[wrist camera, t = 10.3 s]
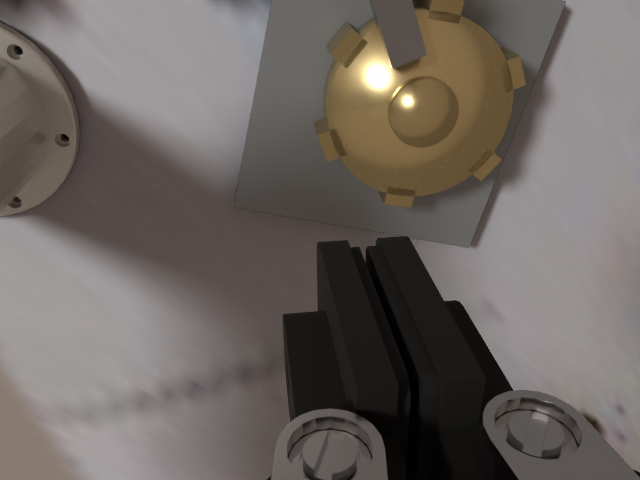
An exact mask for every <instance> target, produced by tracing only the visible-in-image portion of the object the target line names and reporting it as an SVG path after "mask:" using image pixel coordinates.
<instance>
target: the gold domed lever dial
mask: <svg viewBox="0 0 640 480" xmlns="http://www.w3.org/2000/svg"><path fill="white" fill-rule="evenodd" d="M369 2H370V6H371V9H372V12H373V15H374V17H373V18H371V19H370V20H368V21H367V22H365V23H364V24H362V25H361V26H360V27H359V28H358V29H357V30H355V29H353V28H352V27H351V26H350V25H349V24H348V23H347V22H345V23H344V24H343V25H342V27H341V28H340V29H339V30H338V32H337V33H336V34H335V36H334V37H333V38H332V39H331V41H330V42H329V43H328V44H327V46H326V48H327V50H328V51H329V53H330V55H331V56H332V57H333V58H334V60H333V62H332V64H331V66H330V69H329V72H328V74H327V78H326V83H325V87H324V97H323V101H324V114H325V118H324V119H321V120H319V121H316V122H314V126H315V130H316V133H317V136H318V139H319V141H320V144H321V147H322V149H323V152H324V154H325V157H326V159H327V162H330V161H332V160H335V159H337V158H341V160H342V162H343V163H344V165H345V166H346V167H347V168H348V169H349V170H350V172H351V173H352V174H354V175H355V176H356V177H357V178H358V179H359V180H361V181H362V182H364V183H365V184H367V185H368V186H370V187H372V188H374V189H376V190H378V192H379V195H380V197H381V199H382V201H383V203H384V205H393V206H402V207H410V208H411V207H412V203H413V199H414V196H424V195H429V194H434V193H437V192H441V191H444V190H446V189H449V188H451V187H453V186H455V185H457V184H459V183H461V182H462V181H464V180H466V179H467V178H468V177H470V176H471V175H472V174H473V175H474V176H475V177H477V178H478V179H479V180H480V181H482V180H483V179H484V178H485V177H486V176H487V175H488V174H489V173H490V172H491V171H492V170H493V168H494V167H495V166H496V165H497V164H498V163H499V162H500V161H501V160H502V159H501V158H500V157H499V156H498V155H497V154H495V153H494V151H495V150H496V148H497V147H498V145H499V143H500V141H501V139H502V138H503V136H504V134H505V131H506V128H507V126H508V123H509V119H510V115H511V111H512V104H513V90H515V89H517V88H520V87H522V86H525V85H526V83H525V78H524V73H523V68H522V63H521V58H520V55H518V54H516V53H514V52H512V51H510V50H508V49H506V48H504V47H503V48H500V47H499V45H498V44H497V42H496V41H495V40H494V39H493V38H492V37H491V36H490V34H489V33H487V32H486V31H485V30H484V29H483V28H482V27H480V26H479V25H477V24H476V23H474V22H472V21H471V20H469V19H467V18H465V17H462V16H461V13H462V9H463V5H464V0H419V2H418V5H413V2H412V0H369Z"/></svg>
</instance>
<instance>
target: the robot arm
mask: <svg viewBox="0 0 640 480" xmlns="http://www.w3.org/2000/svg"><path fill="white" fill-rule="evenodd" d="M16 46H20V48H21V49H22V51H23V54H21V53H19V52H18V51H17V50H16ZM62 134H65V135H67V136H68V137H69V139H65V138H64V137H63V135H62ZM79 138H80V129H79V119H78V113H77V110H76V106H75V103H74V100H73V96H72V94H71V92H70V90H69V88H68V86H67V84H66V82H65V80H64V78H63V77H62V75H61V74H60V72H59V71H58V70H57V68H56V67H55V66H54V64H53V63H52V62H51V60H50V59H49V58H48V57H47V56H46V55H45V54H44V53H43V52H42V51H41V50H40V49H39V48H38V47H37V46H36V45H35V44H34V43H33V42H31V41H30V40H29V39H27V38H26V37H24V36H23V35H21V34H20V33H19V32H17V31H16V30H14V29H13V28H11V27H9V26H7V25H5V24H3V23H1V22H0V216H8V215H12V214H15V213H19V212H23V211H26V210H28V209H30V208H32V207H34V206H36V205H38V204H40V203H42V202H43V201H44V200H46V199H47V198H48V197H49V196H51V195H52V194H53V193H54V192H55V191H56V190H57V189H58V188H59V186H60V185H61V184H62V183H63V182H64V180H65V179H66V177H67V175H68V174H69V172H70V171H71V169H72V167H73V165H74V162H75V159H76V156H77V153H78V147H79ZM16 197H18V198H19V199H20V200H19V199H17V198H16ZM317 286H318V311H317V312H304V313H292V314H283V335H284V355H285V370H286V382H287V393H288V403H289V412H290V422H289V423H288V424H287V425H286V426H285V428H284V429H283V430H282V431H281V433H280V434H279V436H278V439H277V443H276V446H275V451H274V459H273V467H272V475H271V476H270V477H269V478H268V479H267V480H640V473H639V472H637V471H635V470H633V469H632V468H631V467H630V466H629V465H628V464H627V463H626V462H625V461H624V460H623V459H622V458H621V457H620V455H619V454H618V453H617V452H616V451H615V450H614V449H613V448H612V447H611V446H610V445H609V444H608V442H607V441H606V440H605V439H604V438H603V437H602V436H601V435H600V434H599V433H598V432H597V431H596V429H595V428H594V427H593V426H592V425H591V424H590V423H589V422H588V421H587V420H586V419H585V418H584V416H583V415H581V414H580V413H579V412H578V411H577V410H576V409H574V408H573V407H572V406H571V405H569V404H567V403H566V402H564V401H562V400H560V399H558V398H556V397H554V396H551V395H548V394H545V393H541V392H537V391H528V390H516V391H513V389H512V387H511V386H510V384H509V382H508V381H507V379H506V377H505V376H504V374H503V372H502V370H501V369H500V367H499V365H498V364H497V362H496V360H495V359H494V357H493V355H492V354H491V352H490V350H489V349H488V347H487V345H486V344H485V342H484V340H483V339H482V337H481V335H480V334H479V332H478V330H477V329H476V327H475V325H474V324H473V322H472V320H471V319H470V317H469V315H468V313H467V312H466V310H465V308H464V307H463V305H462V304H461V303H460V302H459V301H456V300H454V301H444V300H443V298H442V297H441V295H440V293H439V291H438V289H437V288H436V286H435V284H434V282H433V280H432V279H431V277H430V275H429V273H428V271H427V270H426V268H425V266H424V264H423V262H422V260H421V259H420V257H419V255H418V253H417V251H416V250H415V248H414V246H413V244H412V242H411V241H410V239H409V237H408V236H402V237H387V238H378V239H377V241H376V246H367V249H366V263H365V260H364V258H363V255H362V253H361V250H360V248H359V247H352V248H350V246H349V243H348V241H347V240H343V241H328V242H318V244H317Z"/></svg>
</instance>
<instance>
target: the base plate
mask: <svg viewBox="0 0 640 480" xmlns="http://www.w3.org/2000/svg"><path fill="white" fill-rule="evenodd" d="M412 2H413V5H418V2H419V0H412ZM565 3H566V1H562V0H464V5H463V9H462V13H461V16H462V17H465V18H467V19H469V20H471V21H472V22H474V23H476V24H477V25H479V26H480V27H482V28H483V29H484V30H485V31H486V32H487V33H489V34H490V36H491V37H492V38H493V39H494V40H495V41H496V42H497V44H498V45H499V47H500V48H503V47H504V48H506V49H508V50H510V51H512V52H514V53H516V54H518V55H520V58H521V63H522V68H523V73H524V78H525V83H526V85H525V86H522V87H520V88H517V89H515V90H513V104H512V111H511V115H510V119H509V123H508V126H507V128H506V131H505V134H504V136H503V138H502V139H501V141H500V143H499V145H498V147H497V148H496V150H495V151H494V153H495V154H497V155H498V156H499V157H500V158H501V159H502V160H501V161H500V162H499V163H498V164H497V165H496V166H495V167H494V168H493V170H492V171H491V172H490V173H489V174H488V175H487V176H486V177H485V178H484V179H483V180H482V181H480V180H479V179H478V178H477V177H475V176H474V175H473V174H472V175H471V176H470V177H468V178H467V179H466V180H464V181H462V182H461V183H459V184H457V185H455V186H453V187H451V188H449V189H446V190H444V191H441V192H437V193H434V194H429V195H424V196H414V199H413V203H412V207H411V208H410V207H402V206H393V205H384V203H383V201H382V199H381V197H380V195H379V192H378V190H376V189H374V188H372V187H370V186H368V185H367V184H365V183H364V182H362V181H361V180H359V179H358V178H357V177H356V176H355V175H354V174H352V173H351V172H350V170H349V169H348V168H347V167H346V166H345V165H344V163H343V162H342V160H341V158H337V159H335V160H332V161H330V162H327V159H326V157H325V154H324V152H323V149H322V147H321V144H320V141H319V139H318V136H317V133H316V130H315V126H314V122H316V121H319V120H321V119H324V118H325V114H324V101H323V97H324V87H325V83H326V78H327V74H328V72H329V69H330V66H331V64H332V62H333V60H334V58H333V57H332V56H331V55H330V53H329V51H328V50H327V48H326V46H327V44H328V43H329V42H330V41H331V39H332V38H333V37H334V36H335V34H336V33H337V32H338V30H339V29H340V28H341V27H342V25H343V24H344V23H345V22H347V23H348V24H349V25H350V26H351V27H352V28H353V29H355V30H357V29H358V28H359V27H360V26H361V25H362V24H364V23H365V22H367V21H368V20H370V19H371V18H373V17H374V15H373V12H372V9H371V6H370V2H369V0H272V3H271V8H270V13H269V19H268V24H267V29H266V35H265V40H264V46H263V51H262V56H261V62H260V67H259V72H258V78H257V83H256V89H255V94H254V99H253V105H252V110H251V115H250V121H249V126H248V132H247V137H246V142H245V148H244V153H243V158H242V164H241V169H240V175H239V180H238V185H237V191H236V196H235V203H234V207H235V208H241V209H247V210H252V211H258V212H264V213H270V214H276V215H281V216H287V217H293V218H299V219H305V220H310V221H316V222H322V223H328V224H334V225H340V226H345V227H351V228H357V229H363V230H369V231H374V232H380V233H386V234H392V235H398V236H408V237H409V238H415V239H421V240H427V241H433V242H438V243H444V244H450V245H456V246H462V247H468V248H469V246H470V244H471V241H472V239H473V236H474V233H475V231H476V228H477V226H478V223H479V221H480V218H481V216H482V213H483V211H484V208H485V206H486V203H487V200H488V198H489V195H490V193H491V190H492V188H493V185H494V183H495V180H496V178H497V175H498V173H499V170H500V167H501V165H502V162H503V160H504V157H505V155H506V152H507V150H508V147H509V145H510V142H511V140H512V137H513V134H514V132H515V129H516V127H517V124H518V122H519V119H520V117H521V114H522V112H523V109H524V107H525V104H526V101H527V99H528V96H529V94H530V91H531V89H532V86H533V84H534V81H535V79H536V76H537V74H538V71H539V68H540V66H541V63H542V61H543V58H544V56H545V53H546V51H547V48H548V46H549V43H550V41H551V38H552V36H553V33H554V30H555V28H556V25H557V23H558V20H559V18H560V15H561V13H562V10H563V8H564V5H565Z"/></svg>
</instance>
